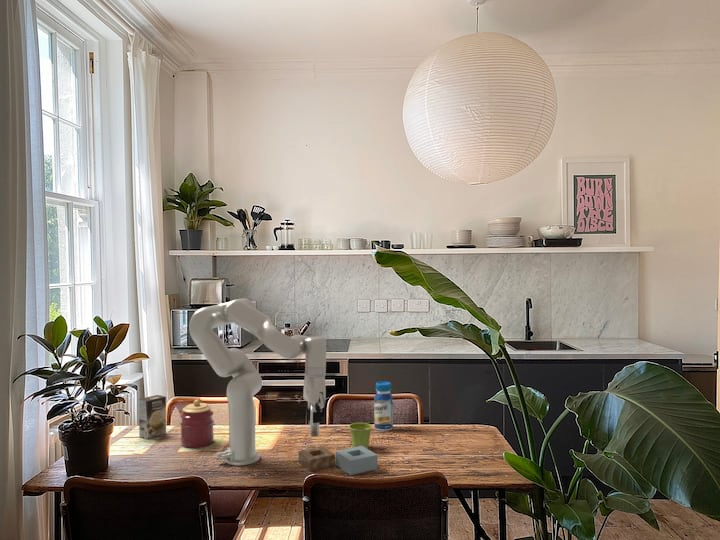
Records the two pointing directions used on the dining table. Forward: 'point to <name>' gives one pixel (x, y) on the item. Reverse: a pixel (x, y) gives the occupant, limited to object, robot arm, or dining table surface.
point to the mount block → (316, 458)
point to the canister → (197, 425)
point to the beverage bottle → (383, 407)
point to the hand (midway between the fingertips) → (314, 420)
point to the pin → (313, 426)
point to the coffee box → (152, 416)
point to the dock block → (356, 460)
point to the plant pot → (360, 434)
